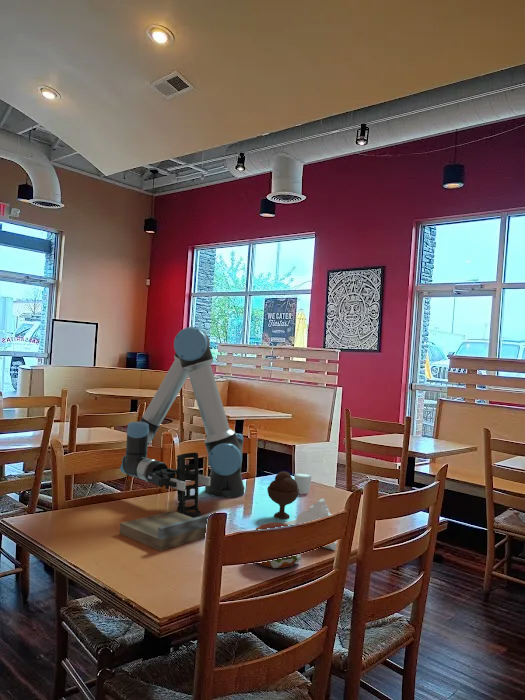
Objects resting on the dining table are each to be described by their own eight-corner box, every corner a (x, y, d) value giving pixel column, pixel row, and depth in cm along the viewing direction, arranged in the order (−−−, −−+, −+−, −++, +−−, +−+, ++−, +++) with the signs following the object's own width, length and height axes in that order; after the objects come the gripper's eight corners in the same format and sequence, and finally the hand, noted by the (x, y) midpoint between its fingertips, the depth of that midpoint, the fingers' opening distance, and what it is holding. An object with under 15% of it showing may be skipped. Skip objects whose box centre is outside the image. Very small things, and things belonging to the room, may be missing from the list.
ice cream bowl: (258, 515, 186) (261, 471, 186) (280, 510, 195) (283, 467, 195) (282, 524, 179) (285, 477, 179) (304, 517, 187) (307, 473, 187)
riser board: (172, 520, 176) (173, 501, 176) (212, 535, 164) (214, 514, 164) (119, 533, 160) (120, 512, 160) (160, 551, 149) (161, 528, 149)
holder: (194, 521, 175) (192, 457, 176) (171, 520, 177) (170, 457, 177) (204, 511, 186) (203, 452, 187) (183, 511, 187) (182, 452, 188)
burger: (250, 550, 154) (253, 514, 154) (299, 554, 153) (302, 518, 153) (247, 569, 140) (250, 530, 140) (301, 574, 140) (304, 534, 140)
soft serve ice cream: (300, 537, 172) (312, 492, 174) (343, 555, 163) (355, 507, 165) (279, 537, 162) (293, 488, 164) (324, 555, 153) (337, 504, 155)
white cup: (311, 495, 218) (312, 477, 218) (293, 493, 219) (294, 476, 219) (309, 490, 225) (310, 473, 225) (292, 489, 225) (294, 472, 225)
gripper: (177, 477, 202) (221, 490, 188) (125, 486, 184) (169, 501, 170) (178, 456, 202) (222, 468, 188) (126, 464, 184) (171, 477, 170)
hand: (197, 484), depth 179 cm, fingers closed on holder, 10 cm apart
